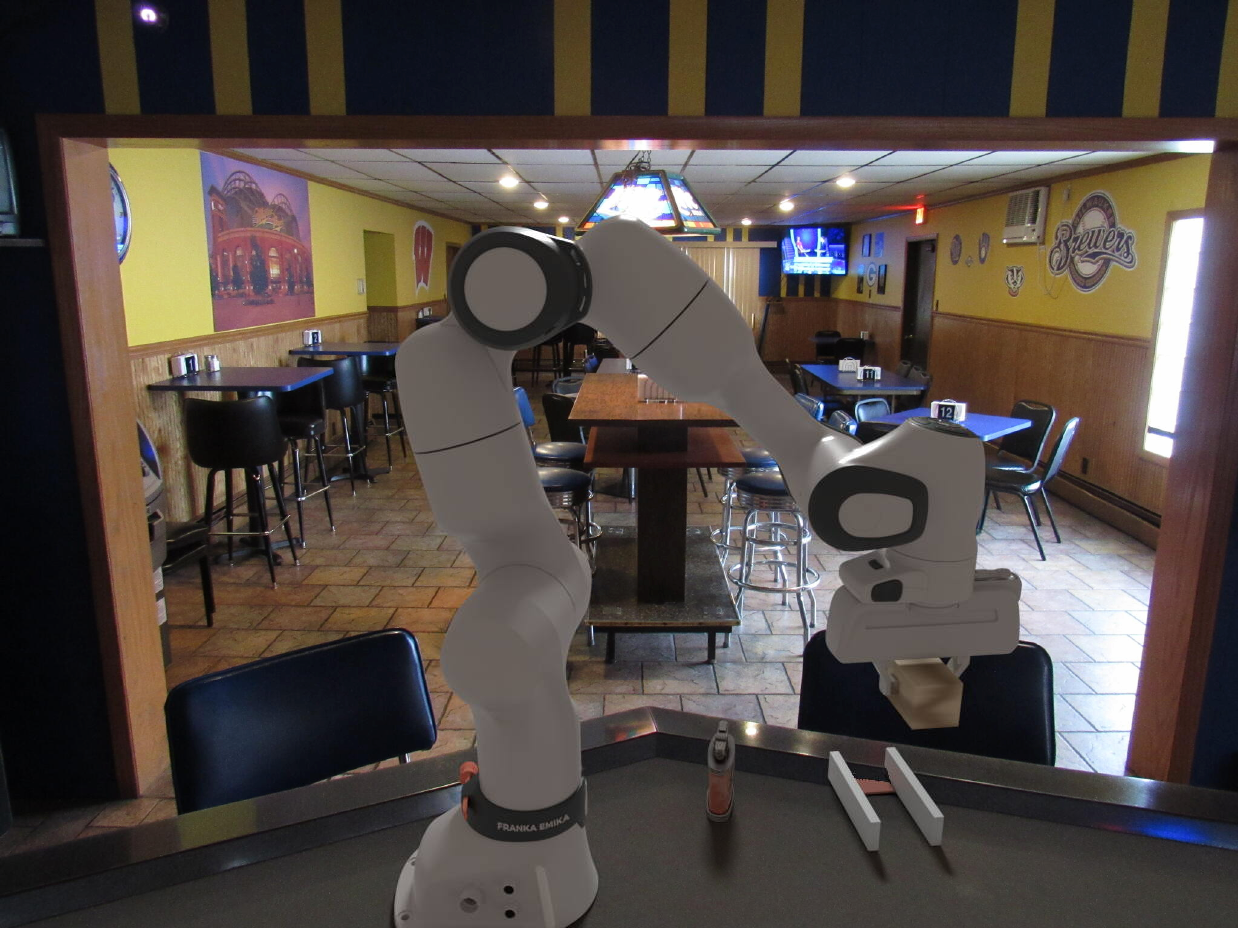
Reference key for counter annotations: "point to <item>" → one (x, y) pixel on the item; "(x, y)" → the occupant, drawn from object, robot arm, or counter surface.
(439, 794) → the counter surface
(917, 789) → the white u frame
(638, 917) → the counter surface
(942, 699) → the maple block
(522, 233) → the robot arm
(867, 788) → the trap pad
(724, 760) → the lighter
